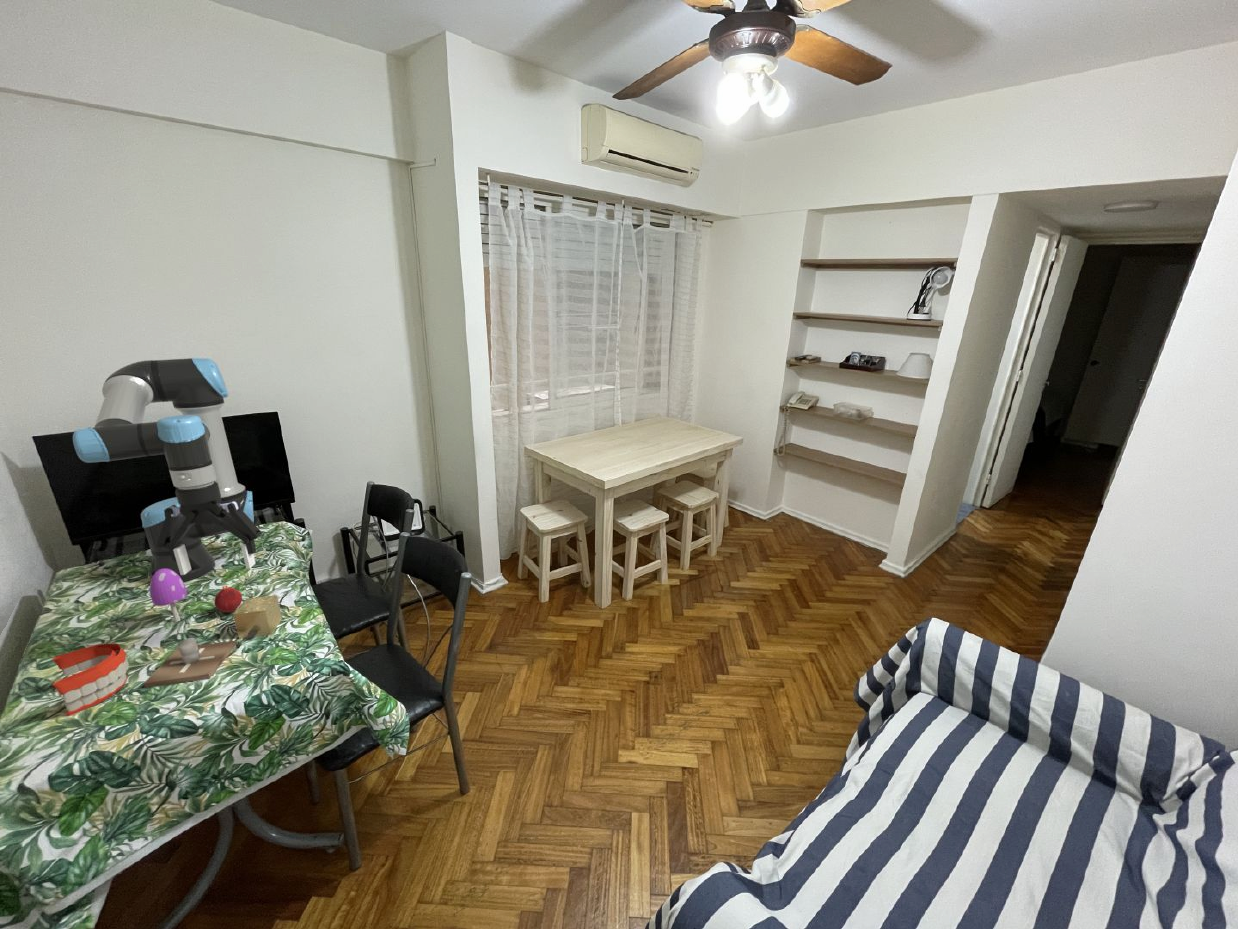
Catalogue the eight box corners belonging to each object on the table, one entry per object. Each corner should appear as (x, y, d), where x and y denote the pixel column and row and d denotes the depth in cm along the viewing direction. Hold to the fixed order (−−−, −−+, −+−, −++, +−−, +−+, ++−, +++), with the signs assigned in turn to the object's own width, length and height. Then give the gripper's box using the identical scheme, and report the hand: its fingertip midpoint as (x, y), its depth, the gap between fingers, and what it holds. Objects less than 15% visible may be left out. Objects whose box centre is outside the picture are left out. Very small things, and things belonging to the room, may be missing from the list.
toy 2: (174, 629, 125) (158, 577, 121) (153, 626, 126) (136, 574, 122) (200, 614, 131) (185, 564, 127) (180, 611, 133) (165, 562, 128)
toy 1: (137, 690, 105) (126, 659, 103) (66, 719, 98) (52, 686, 95) (131, 664, 113) (120, 634, 111) (65, 688, 106) (52, 657, 103)
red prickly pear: (249, 609, 133) (242, 583, 131) (224, 620, 129) (217, 594, 126) (238, 603, 136) (232, 578, 134) (214, 614, 132) (206, 588, 129)
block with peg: (255, 618, 130) (249, 595, 128) (284, 614, 131) (279, 591, 129) (236, 642, 120) (229, 617, 118) (268, 638, 122) (262, 613, 120)
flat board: (178, 652, 117) (171, 630, 115) (236, 644, 119) (230, 622, 118) (145, 688, 106) (136, 664, 104) (209, 678, 108) (202, 655, 106)
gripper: (118, 494, 105) (146, 582, 111) (249, 485, 110) (270, 570, 116) (143, 483, 112) (168, 567, 118) (265, 475, 117) (284, 556, 123)
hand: (219, 569), depth 117 cm, fingers open, 13 cm apart
